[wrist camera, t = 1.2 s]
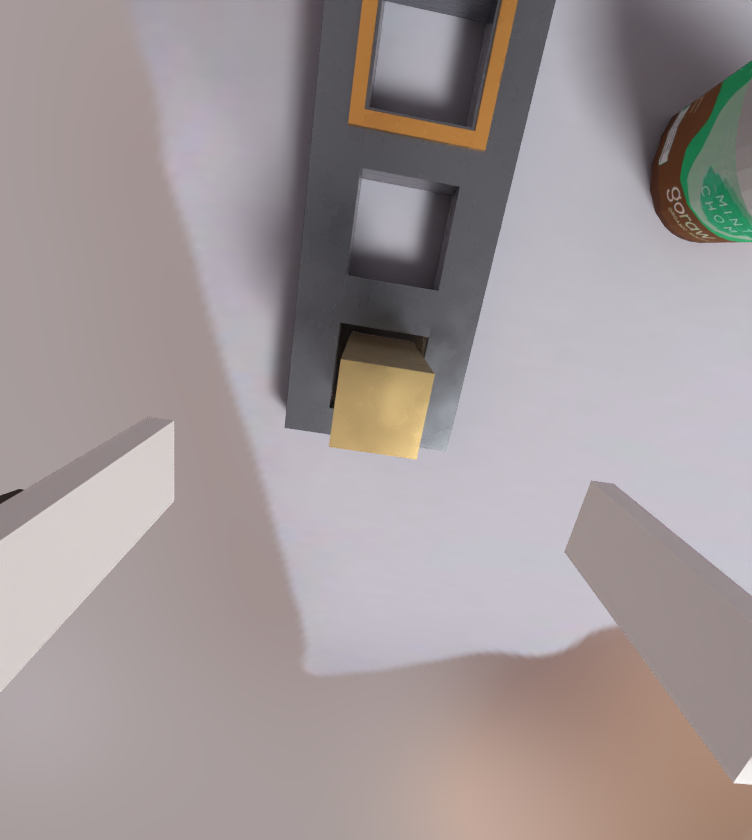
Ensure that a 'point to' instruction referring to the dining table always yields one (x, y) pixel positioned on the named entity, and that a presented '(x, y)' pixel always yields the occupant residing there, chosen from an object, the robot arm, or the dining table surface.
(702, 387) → the dining table surface
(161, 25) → the dining table surface
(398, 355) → the brass post
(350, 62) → the grey slotted tray
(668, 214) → the food container
